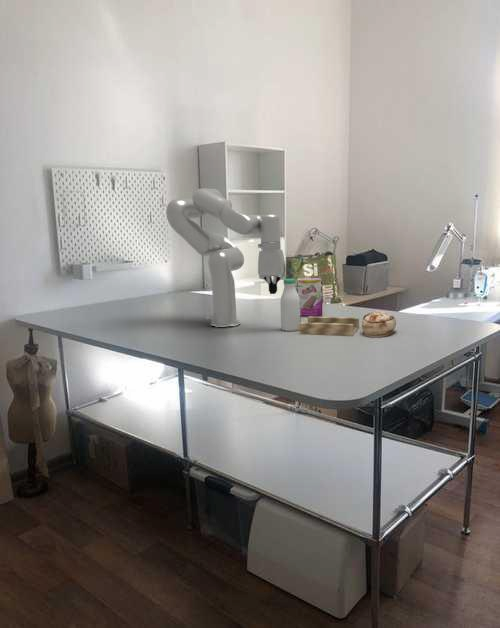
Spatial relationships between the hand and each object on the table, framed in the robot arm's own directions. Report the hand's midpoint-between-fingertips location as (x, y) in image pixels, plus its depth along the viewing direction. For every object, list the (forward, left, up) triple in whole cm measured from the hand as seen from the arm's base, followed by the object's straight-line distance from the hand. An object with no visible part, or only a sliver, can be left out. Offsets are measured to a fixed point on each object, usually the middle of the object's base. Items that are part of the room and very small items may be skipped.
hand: (273, 293), depth 211 cm
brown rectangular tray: (+22, 0, -14) cm, 27 cm away
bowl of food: (+41, 0, -15) cm, 44 cm away
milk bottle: (+7, 0, -15) cm, 16 cm away
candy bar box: (+7, +29, -15) cm, 33 cm away
